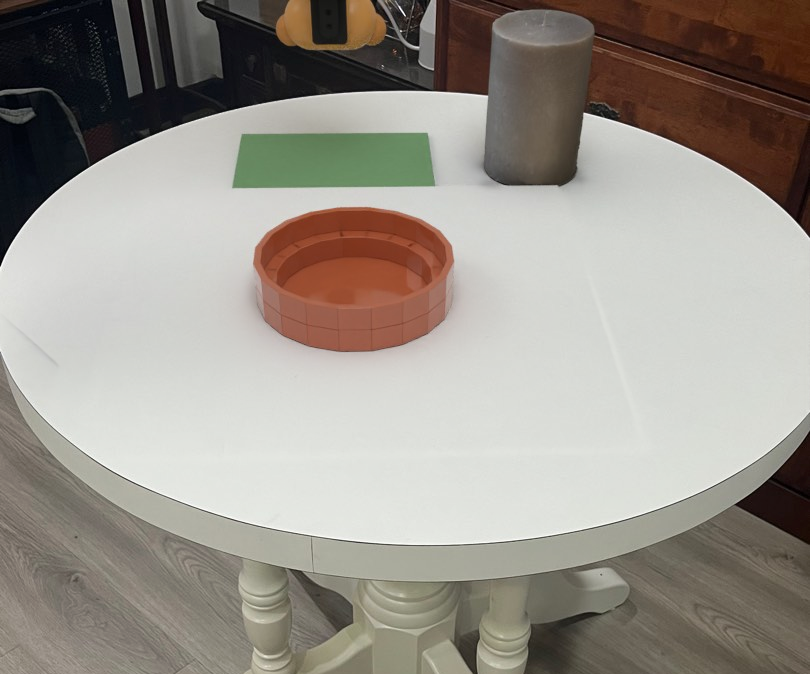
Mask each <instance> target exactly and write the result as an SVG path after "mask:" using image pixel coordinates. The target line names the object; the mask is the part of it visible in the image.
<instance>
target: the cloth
mask: <svg viewBox="0 0 810 674" xmlns="http://www.w3.org/2000/svg"><path fill="white" fill-rule="evenodd" d="M429 139H430V138H429V132H342V133H341V132H334V133H333V132H332V133H331V132H329V133H328V132H324V133H323V132H322V133H320V132H319V133H318V132H317V133H314V132H311V133H310V132H309V133H307V132H306V133H305V132H304V133H241V136H240V141H239V148H238V153H237V154H238V155H237V158H236V164H235V170H234V176H233V182H232V187H231V189H298V188H299V189H302V188H303V189H304V188H305V189H307V188H308V189H309V188H311V189H312V188H401V187H402V188H409V187H411V188H415V187H416V188H417V187H419V188H421V187H423V188H424V187H425V188H427V187H428V188H429V187H436V184H435V177H434V169H433V162H432V156H431V155H432V154H431V148H430V140H429Z"/></svg>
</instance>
